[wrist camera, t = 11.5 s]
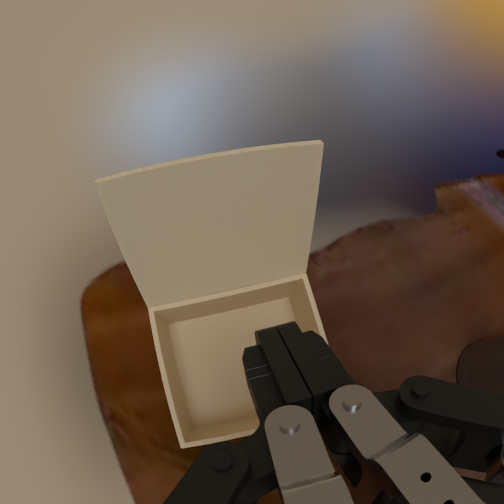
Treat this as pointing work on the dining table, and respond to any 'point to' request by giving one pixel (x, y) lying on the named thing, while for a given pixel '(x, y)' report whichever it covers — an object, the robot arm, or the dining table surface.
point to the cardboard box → (222, 353)
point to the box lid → (215, 219)
